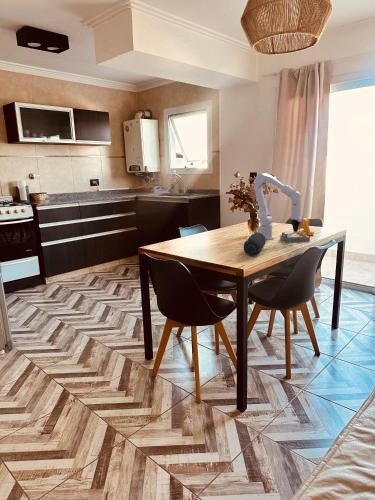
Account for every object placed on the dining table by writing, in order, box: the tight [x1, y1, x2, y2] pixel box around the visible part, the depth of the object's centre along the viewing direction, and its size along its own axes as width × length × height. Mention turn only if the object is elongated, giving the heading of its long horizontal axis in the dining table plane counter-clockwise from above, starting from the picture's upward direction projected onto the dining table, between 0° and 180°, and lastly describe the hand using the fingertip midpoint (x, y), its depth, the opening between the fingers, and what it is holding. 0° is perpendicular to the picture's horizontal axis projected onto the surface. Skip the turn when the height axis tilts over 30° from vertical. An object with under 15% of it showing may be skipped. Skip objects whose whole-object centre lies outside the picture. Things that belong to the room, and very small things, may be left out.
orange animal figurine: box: [295, 217, 315, 237], centre depth 242 cm, size 11×7×12 cm, turn 39°
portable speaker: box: [243, 232, 267, 257], centre depth 202 cm, size 25×10×10 cm, turn 159°
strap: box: [283, 229, 304, 237], centre depth 226 cm, size 14×3×1 cm, turn 97°
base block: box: [279, 231, 311, 244], centre depth 227 cm, size 16×10×5 cm, turn 97°
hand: (295, 231), depth 226 cm, fingers closed, pressing on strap
